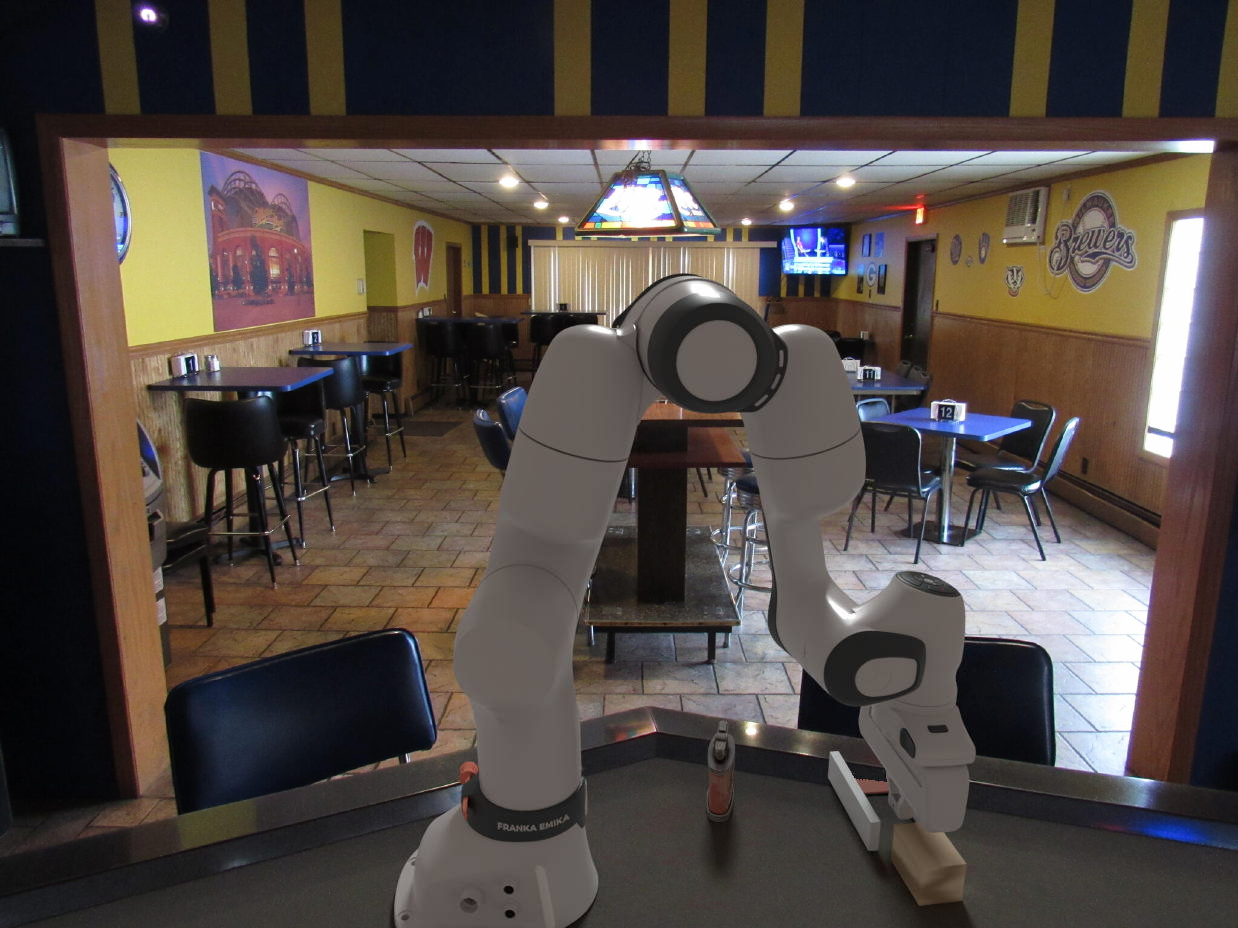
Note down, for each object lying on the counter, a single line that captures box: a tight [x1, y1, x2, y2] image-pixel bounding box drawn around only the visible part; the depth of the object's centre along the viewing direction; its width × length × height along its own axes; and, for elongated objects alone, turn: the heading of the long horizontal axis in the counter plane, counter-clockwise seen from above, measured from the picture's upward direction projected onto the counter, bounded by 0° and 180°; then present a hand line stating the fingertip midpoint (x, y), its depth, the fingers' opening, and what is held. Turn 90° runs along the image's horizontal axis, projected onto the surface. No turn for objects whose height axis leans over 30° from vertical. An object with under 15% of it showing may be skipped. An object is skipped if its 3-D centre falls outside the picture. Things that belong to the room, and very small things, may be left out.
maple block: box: [890, 822, 967, 907], centre depth 95 cm, size 5×7×5 cm
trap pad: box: [855, 778, 889, 796], centre depth 112 cm, size 6×4×1 cm, turn 96°
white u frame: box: [827, 750, 920, 852], centre depth 107 cm, size 9×14×4 cm, turn 6°
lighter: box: [706, 720, 736, 823], centre depth 108 cm, size 8×3×10 cm, turn 168°
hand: (899, 811), depth 100 cm, fingers closed
